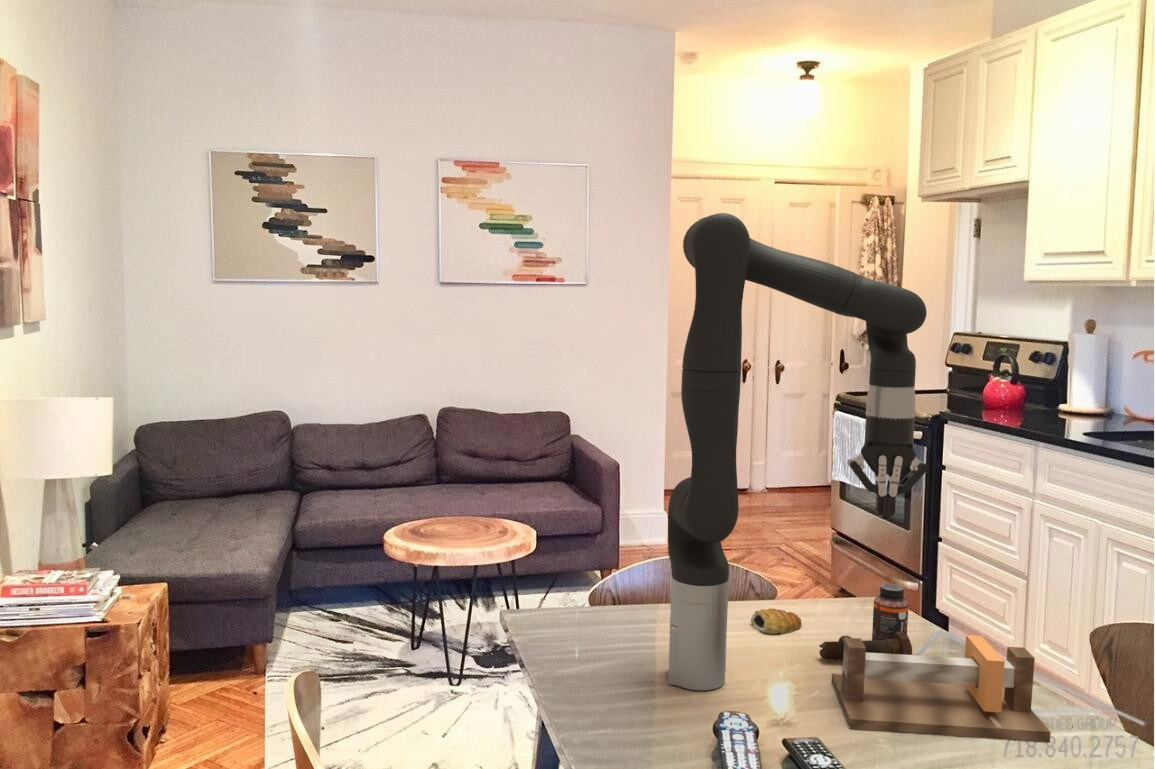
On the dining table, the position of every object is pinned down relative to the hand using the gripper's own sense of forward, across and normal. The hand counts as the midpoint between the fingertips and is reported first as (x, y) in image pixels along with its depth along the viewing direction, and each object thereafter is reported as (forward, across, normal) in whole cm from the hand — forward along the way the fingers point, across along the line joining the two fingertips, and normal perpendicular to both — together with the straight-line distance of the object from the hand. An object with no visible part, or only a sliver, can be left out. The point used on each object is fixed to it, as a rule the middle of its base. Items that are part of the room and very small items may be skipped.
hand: (884, 517), depth 150 cm
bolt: (+28, +1, -6) cm, 28 cm away
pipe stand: (+27, -6, +12) cm, 30 cm away
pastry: (+28, +15, -20) cm, 37 cm away
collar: (+24, -13, +12) cm, 30 cm away
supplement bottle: (+27, -5, -13) cm, 31 cm away
